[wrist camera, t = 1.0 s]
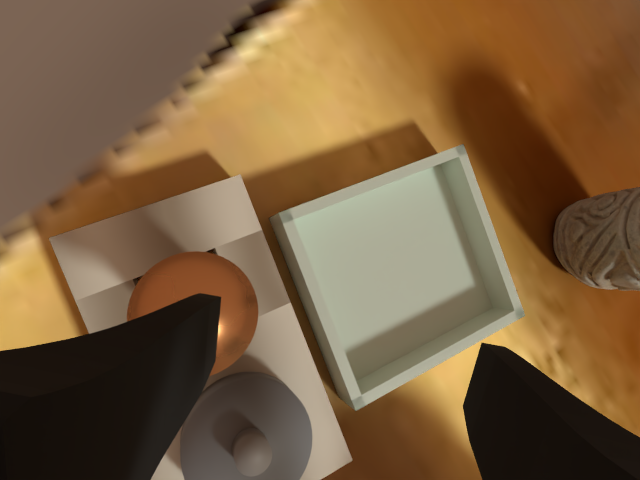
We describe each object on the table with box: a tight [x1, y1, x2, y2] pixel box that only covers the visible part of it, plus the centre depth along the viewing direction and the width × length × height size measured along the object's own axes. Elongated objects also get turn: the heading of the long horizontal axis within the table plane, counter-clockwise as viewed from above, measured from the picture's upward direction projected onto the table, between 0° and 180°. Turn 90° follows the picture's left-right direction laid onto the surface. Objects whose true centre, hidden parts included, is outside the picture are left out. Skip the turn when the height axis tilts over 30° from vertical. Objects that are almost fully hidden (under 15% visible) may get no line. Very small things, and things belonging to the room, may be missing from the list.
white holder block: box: [49, 175, 352, 480], centre depth 21 cm, size 9×16×5 cm, turn 22°
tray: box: [269, 144, 525, 411], centre depth 25 cm, size 12×11×2 cm
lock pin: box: [127, 251, 258, 376], centre depth 19 cm, size 4×4×8 cm
